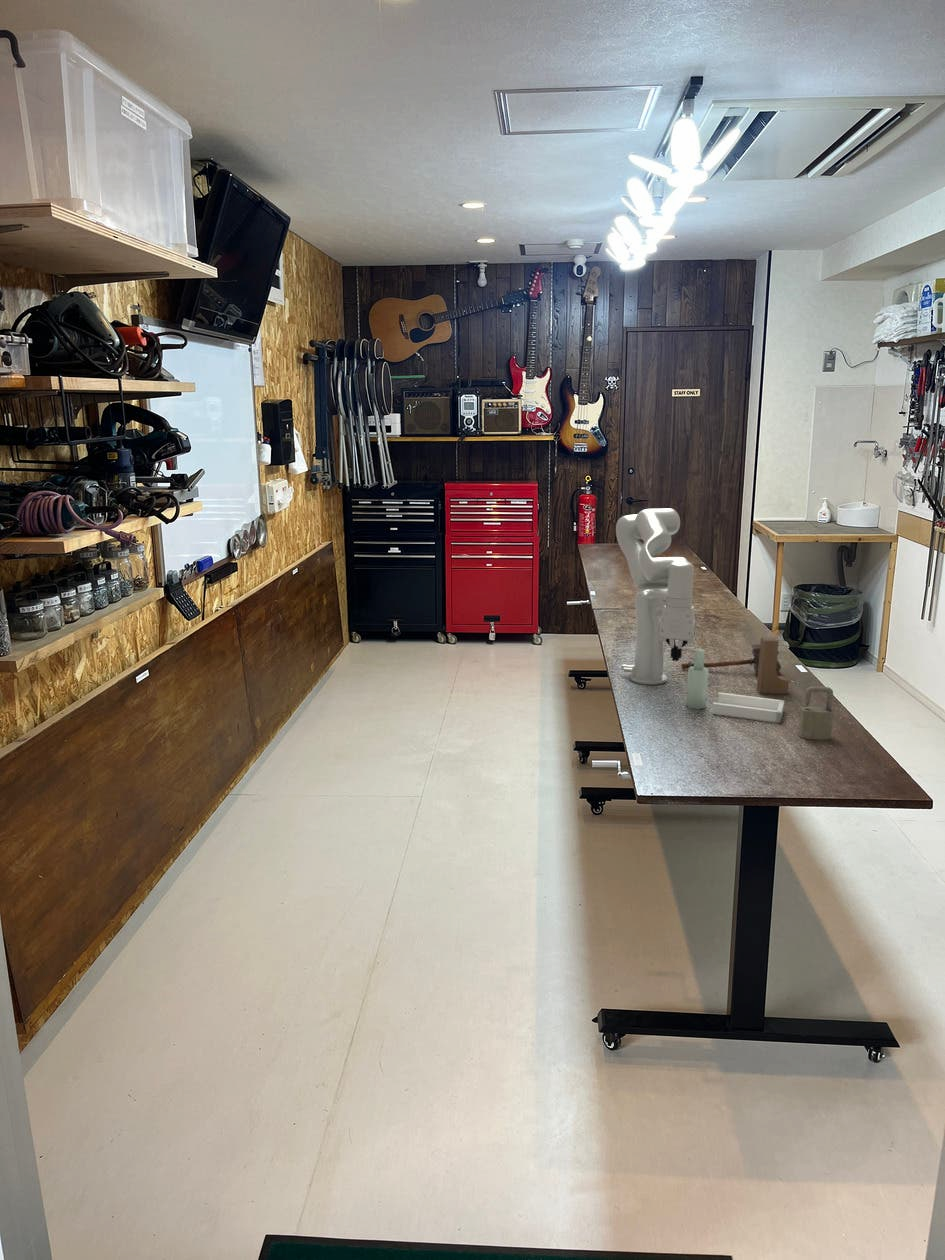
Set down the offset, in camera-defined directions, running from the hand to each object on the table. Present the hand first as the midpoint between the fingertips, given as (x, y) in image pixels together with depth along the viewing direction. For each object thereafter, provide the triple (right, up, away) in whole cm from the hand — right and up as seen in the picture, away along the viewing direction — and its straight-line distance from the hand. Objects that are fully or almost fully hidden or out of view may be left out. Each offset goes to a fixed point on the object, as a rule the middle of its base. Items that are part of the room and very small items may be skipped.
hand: (675, 659), depth 280 cm
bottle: (+6, -14, +1) cm, 16 cm away
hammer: (+26, -6, +34) cm, 43 cm away
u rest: (+21, -16, -5) cm, 27 cm away
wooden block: (+34, -11, +14) cm, 39 cm away
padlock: (+34, -21, -24) cm, 47 cm away
